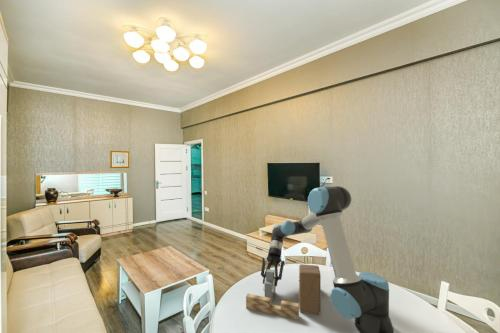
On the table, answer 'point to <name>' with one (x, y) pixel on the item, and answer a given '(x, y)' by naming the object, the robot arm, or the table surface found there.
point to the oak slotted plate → (272, 306)
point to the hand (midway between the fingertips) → (268, 291)
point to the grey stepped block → (269, 284)
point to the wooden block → (309, 289)
